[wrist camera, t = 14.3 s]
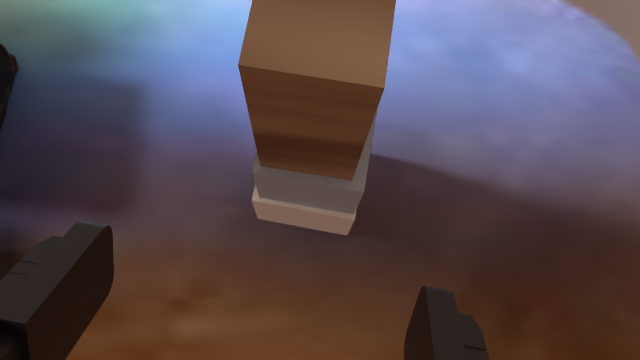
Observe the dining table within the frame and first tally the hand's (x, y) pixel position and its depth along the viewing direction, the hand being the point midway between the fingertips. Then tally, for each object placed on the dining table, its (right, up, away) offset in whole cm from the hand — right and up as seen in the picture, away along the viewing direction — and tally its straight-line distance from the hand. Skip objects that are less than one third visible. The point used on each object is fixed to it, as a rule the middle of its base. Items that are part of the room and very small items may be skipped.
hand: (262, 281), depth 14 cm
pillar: (+1, +5, +13) cm, 14 cm away
